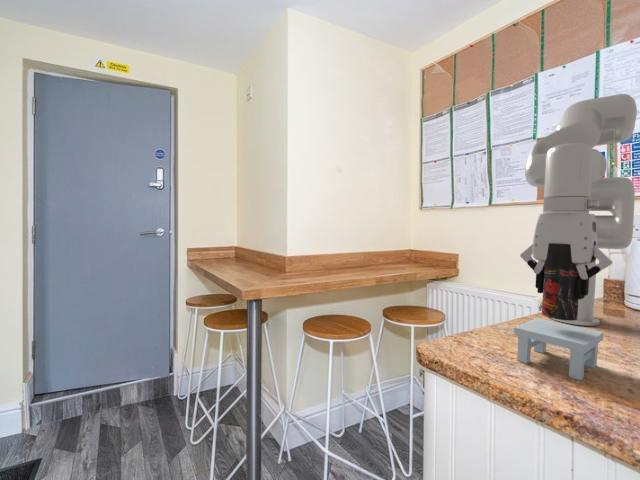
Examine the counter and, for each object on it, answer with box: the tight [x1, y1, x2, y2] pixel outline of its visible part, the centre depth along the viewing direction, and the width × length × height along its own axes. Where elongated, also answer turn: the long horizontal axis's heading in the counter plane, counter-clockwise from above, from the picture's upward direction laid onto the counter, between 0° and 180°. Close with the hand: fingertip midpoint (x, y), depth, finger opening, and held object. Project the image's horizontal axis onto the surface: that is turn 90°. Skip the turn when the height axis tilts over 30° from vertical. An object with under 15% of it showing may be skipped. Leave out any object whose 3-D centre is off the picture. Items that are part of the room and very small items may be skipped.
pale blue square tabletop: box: [513, 317, 604, 381], centre depth 68 cm, size 12×12×7 cm
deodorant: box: [541, 243, 580, 321], centre depth 67 cm, size 6×6×15 cm
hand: (560, 294), depth 67 cm, fingers closed on deodorant, 5 cm apart
